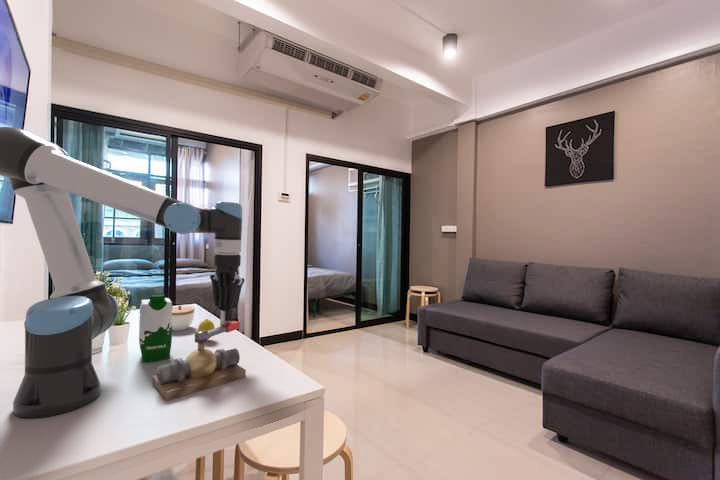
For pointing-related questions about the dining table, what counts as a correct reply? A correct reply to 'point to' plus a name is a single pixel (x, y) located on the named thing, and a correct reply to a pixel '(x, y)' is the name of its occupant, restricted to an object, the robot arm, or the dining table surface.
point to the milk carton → (155, 328)
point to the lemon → (206, 325)
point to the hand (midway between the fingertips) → (225, 330)
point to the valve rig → (198, 372)
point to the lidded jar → (182, 317)
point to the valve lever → (216, 331)
